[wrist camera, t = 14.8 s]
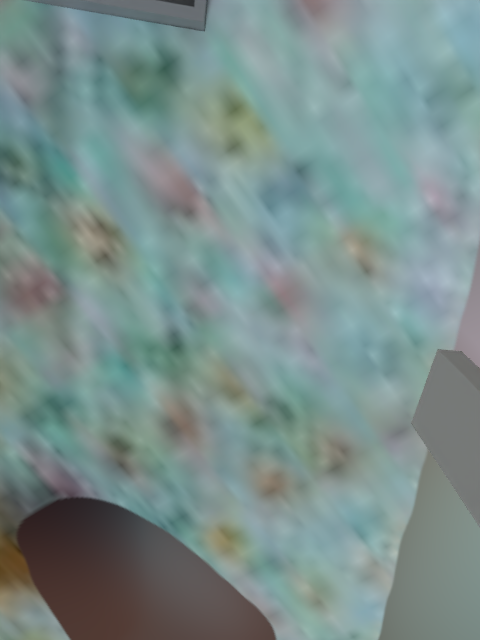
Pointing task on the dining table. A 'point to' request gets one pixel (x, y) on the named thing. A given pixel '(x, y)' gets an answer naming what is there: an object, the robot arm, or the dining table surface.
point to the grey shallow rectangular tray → (145, 10)
